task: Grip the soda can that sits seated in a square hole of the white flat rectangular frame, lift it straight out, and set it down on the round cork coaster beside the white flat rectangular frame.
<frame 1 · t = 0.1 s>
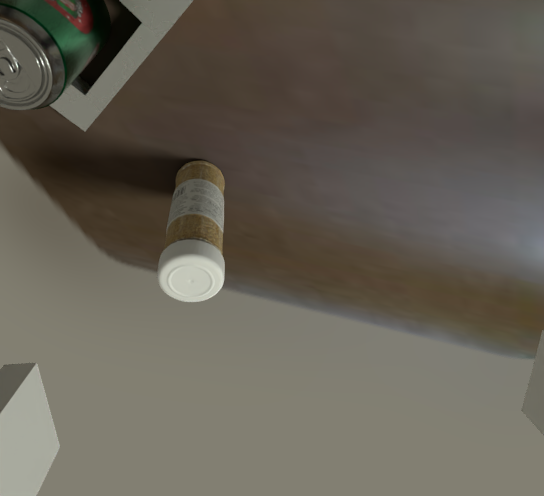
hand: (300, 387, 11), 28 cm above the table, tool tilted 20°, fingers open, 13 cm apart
sprinkles bottle: (200, 178, 38), on the table
soda can: (75, 13, 29), resting in white flat rectangular frame
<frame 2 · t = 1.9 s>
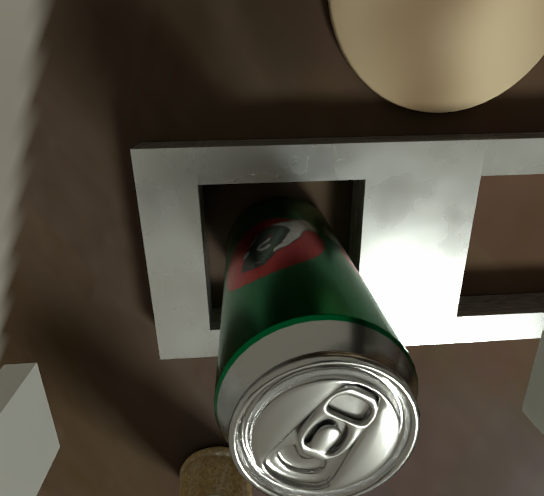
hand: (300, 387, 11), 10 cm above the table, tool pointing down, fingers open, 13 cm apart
sprinkles bottle: (217, 466, 26), on the table
soda can: (278, 241, 20), resting in white flat rectangular frame
white flat rectangular frame: (398, 238, 20), on the table
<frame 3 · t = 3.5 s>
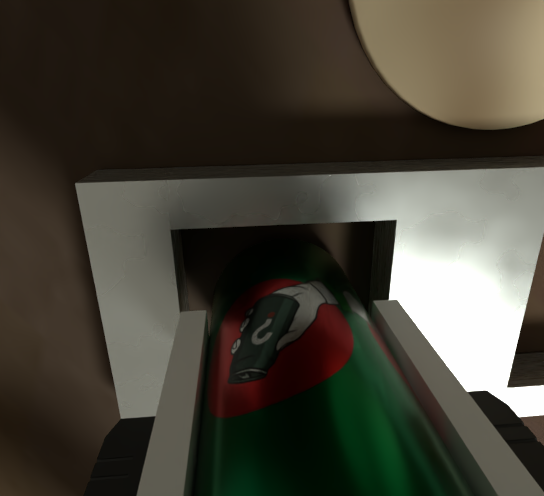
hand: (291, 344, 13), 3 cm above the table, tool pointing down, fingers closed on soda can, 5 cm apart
soda can: (279, 292, 16), resting in white flat rectangular frame, touching gripper
white flat rectangular frame: (431, 286, 16), on the table
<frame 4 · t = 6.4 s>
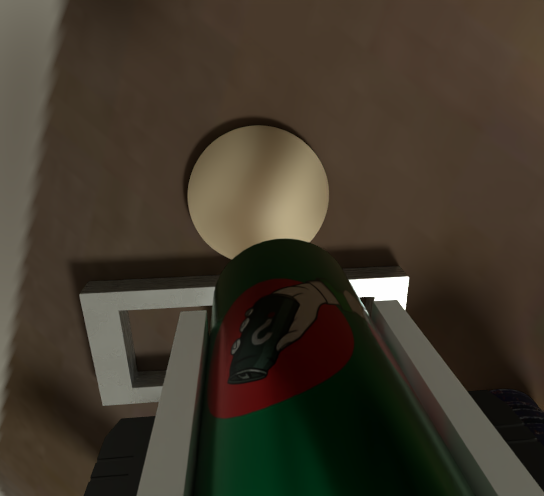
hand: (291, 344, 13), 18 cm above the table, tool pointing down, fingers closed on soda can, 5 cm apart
soda can: (279, 292, 16), point 15 cm above the table, touching gripper
white flat rectangular frame: (250, 328, 33), on the table
dark blue canister: (489, 427, 40), on the table
coaster: (258, 197, 30), on the table
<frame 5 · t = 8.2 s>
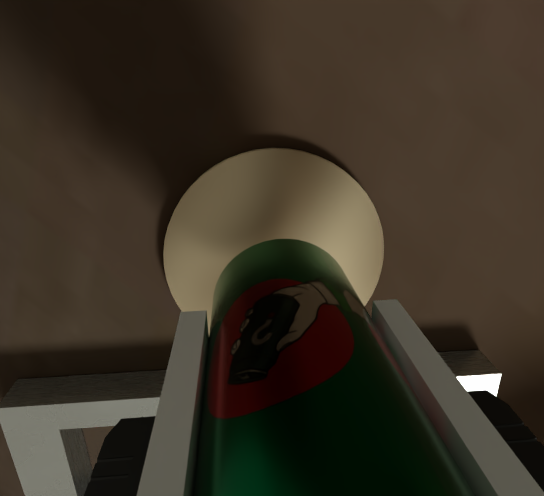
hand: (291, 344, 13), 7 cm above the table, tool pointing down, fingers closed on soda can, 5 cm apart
soda can: (279, 292, 16), point 4 cm above the table, touching gripper
white flat rectangular frame: (259, 436, 23), on the table
coaster: (274, 256, 19), on the table
when the fingers open (5 cm above the table, at t = 9.3 s): soda can drops 1 cm, resting on coaster.
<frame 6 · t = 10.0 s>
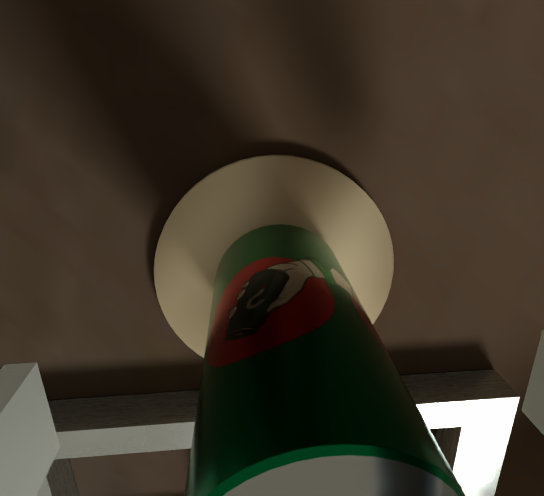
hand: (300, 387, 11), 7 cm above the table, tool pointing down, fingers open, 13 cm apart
soda can: (276, 275, 17), resting on coaster
white flat rectangular frame: (259, 462, 22), on the table
coaster: (275, 272, 18), on the table
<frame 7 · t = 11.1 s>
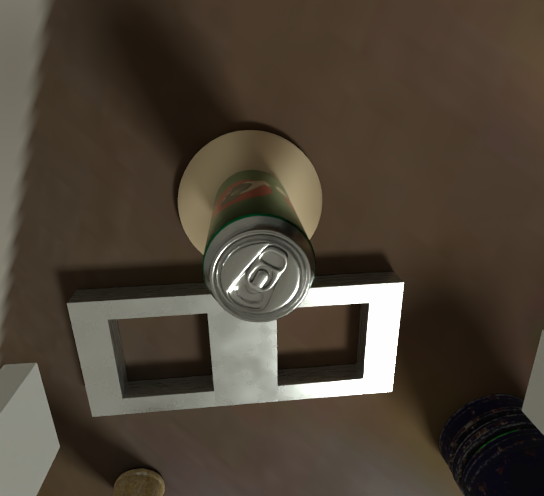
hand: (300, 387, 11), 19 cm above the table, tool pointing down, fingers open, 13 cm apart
sprinkles bottle: (141, 481, 38), on the table
soda can: (251, 203, 29), resting on coaster
white flat rectangular frame: (243, 336, 33), on the table
dark blue canister: (485, 432, 40), on the table
coaster: (250, 202, 29), on the table
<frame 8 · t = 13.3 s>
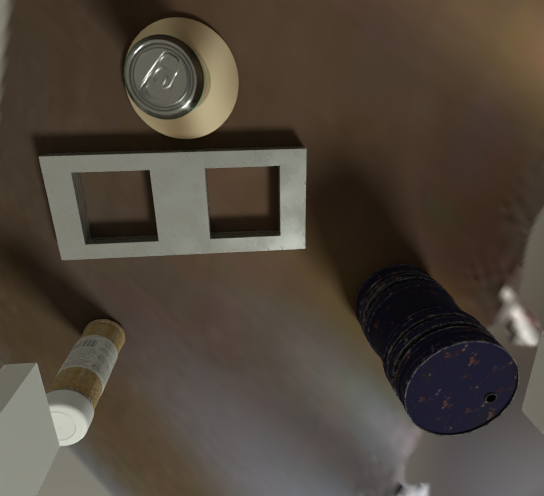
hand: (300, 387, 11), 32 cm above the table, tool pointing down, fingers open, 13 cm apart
sprinkles bottle: (106, 333, 46), on the table
soda can: (182, 80, 36), resting on coaster
white flat rectangular frame: (183, 200, 41), on the table
dark blue canister: (395, 301, 48), on the table
coaster: (182, 81, 37), on the table
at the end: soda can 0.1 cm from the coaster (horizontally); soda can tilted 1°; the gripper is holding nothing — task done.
